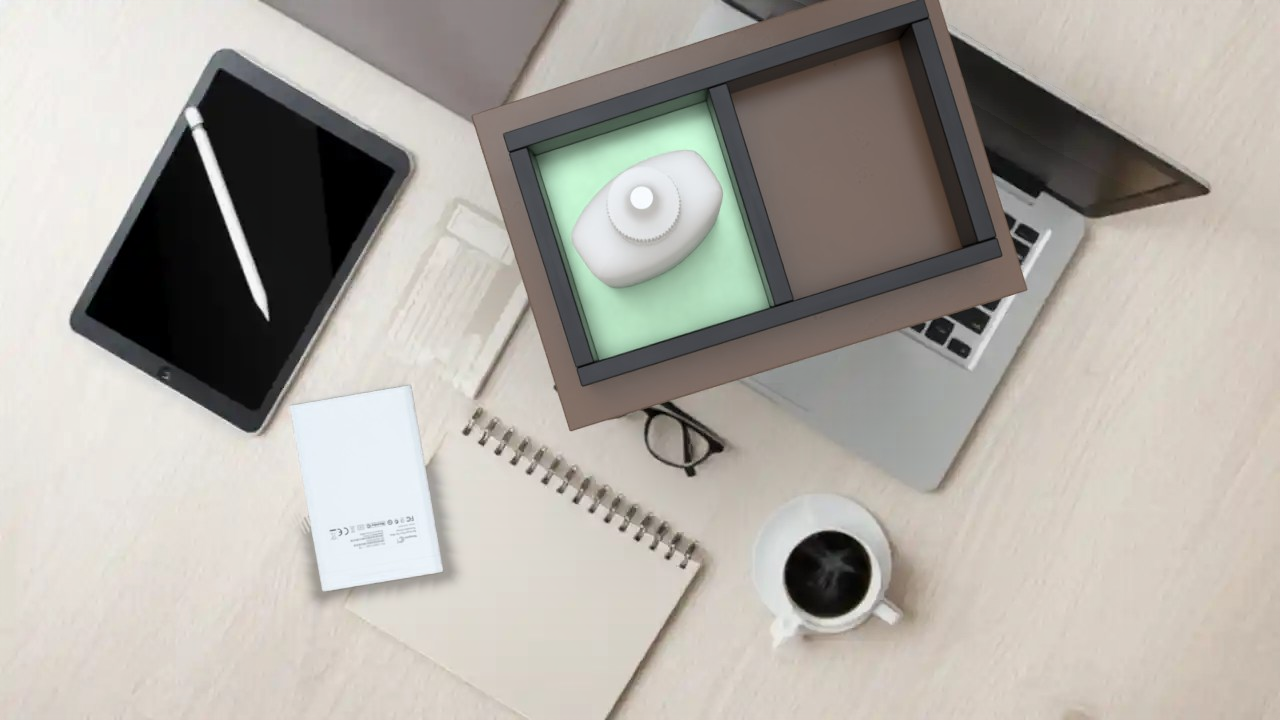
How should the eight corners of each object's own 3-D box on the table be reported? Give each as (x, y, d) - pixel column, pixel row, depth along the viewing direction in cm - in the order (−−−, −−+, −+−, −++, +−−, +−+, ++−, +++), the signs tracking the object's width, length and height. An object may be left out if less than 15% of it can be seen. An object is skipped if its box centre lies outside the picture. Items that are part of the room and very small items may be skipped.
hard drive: (415, 383, 73) (447, 567, 73) (295, 404, 73) (328, 587, 73) (409, 384, 71) (442, 572, 71) (286, 405, 72) (319, 592, 72)
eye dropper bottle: (580, 187, 46) (544, 136, 34) (714, 173, 46) (725, 117, 34) (590, 291, 46) (558, 277, 34) (724, 278, 46) (739, 259, 34)
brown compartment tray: (475, 120, 47) (458, 102, 44) (922, -24, 46) (943, -55, 43) (572, 429, 48) (563, 437, 44) (1019, 291, 47) (1048, 288, 43)
